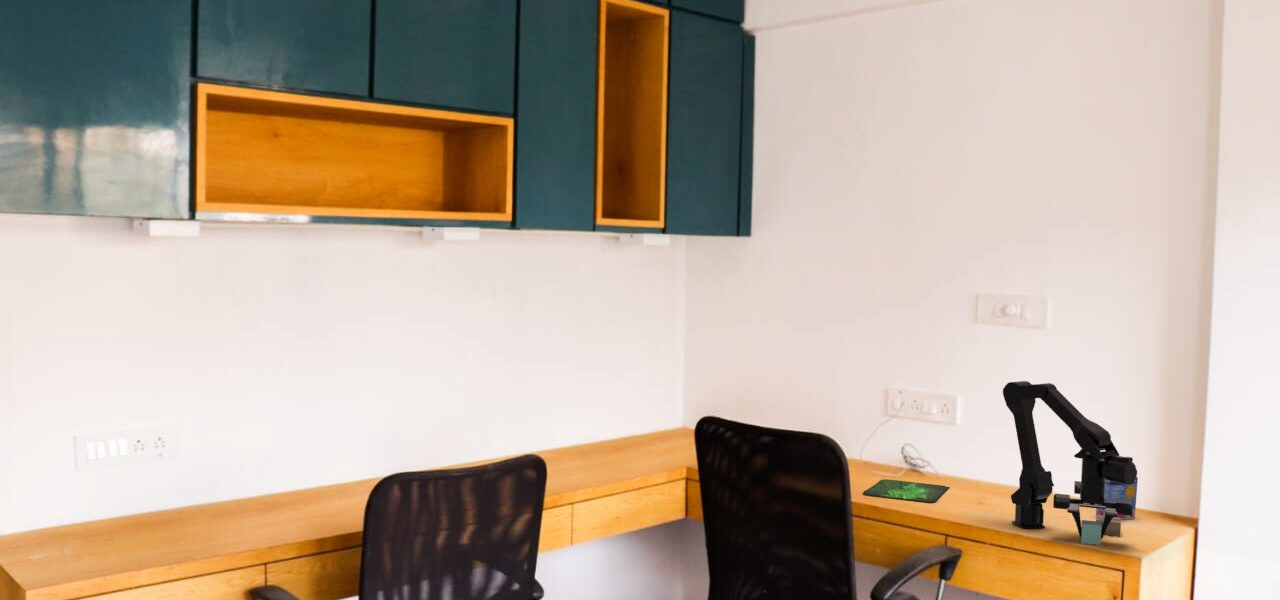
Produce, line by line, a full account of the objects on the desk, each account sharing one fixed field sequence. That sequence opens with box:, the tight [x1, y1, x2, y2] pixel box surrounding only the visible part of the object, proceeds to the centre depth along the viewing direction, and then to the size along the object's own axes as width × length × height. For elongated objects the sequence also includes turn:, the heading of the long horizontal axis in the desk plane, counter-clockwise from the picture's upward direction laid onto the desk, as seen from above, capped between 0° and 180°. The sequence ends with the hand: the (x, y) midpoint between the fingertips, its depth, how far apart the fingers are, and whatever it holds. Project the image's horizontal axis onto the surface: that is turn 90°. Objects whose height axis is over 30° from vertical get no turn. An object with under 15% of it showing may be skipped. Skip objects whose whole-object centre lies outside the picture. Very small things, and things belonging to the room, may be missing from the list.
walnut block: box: [1095, 515, 1122, 538], centre depth 293 cm, size 6×6×4 cm
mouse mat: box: [862, 478, 951, 504], centre depth 339 cm, size 27×22×1 cm
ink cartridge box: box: [1095, 476, 1139, 521], centre depth 309 cm, size 10×6×14 cm, turn 111°
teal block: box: [1080, 519, 1102, 546], centre depth 283 cm, size 5×5×5 cm
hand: (1090, 537), depth 283 cm, fingers closed on teal block, 5 cm apart
